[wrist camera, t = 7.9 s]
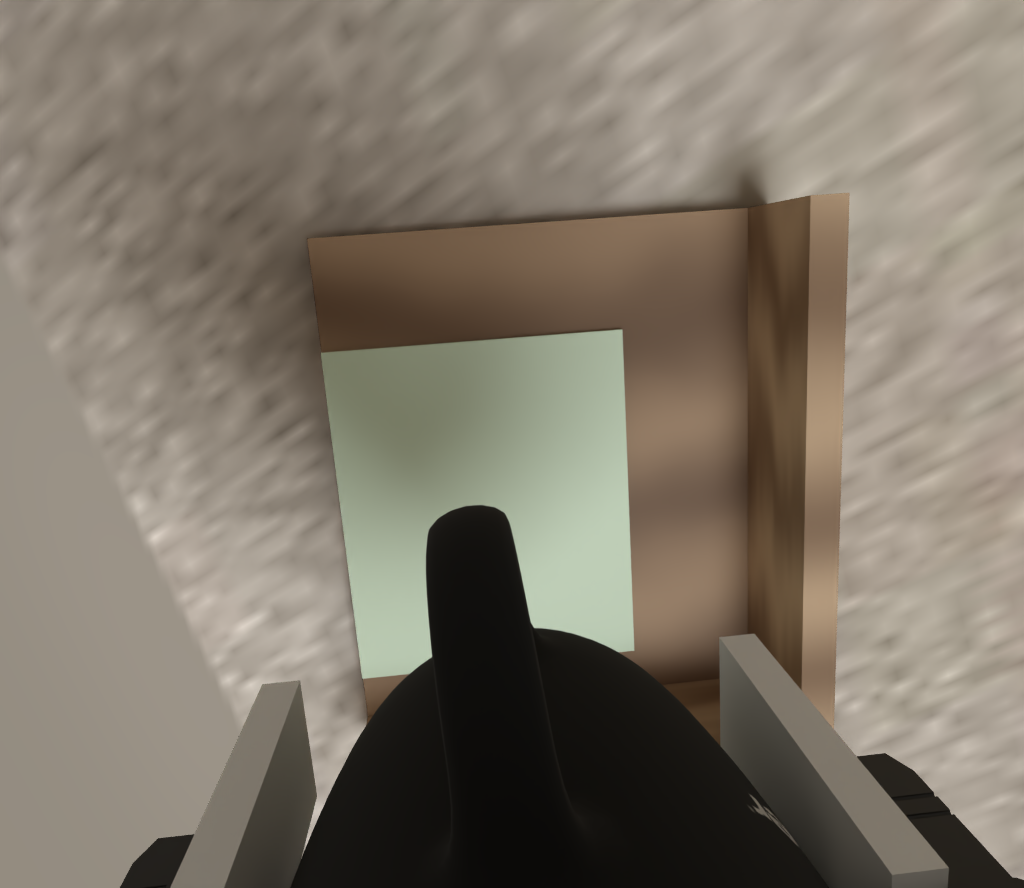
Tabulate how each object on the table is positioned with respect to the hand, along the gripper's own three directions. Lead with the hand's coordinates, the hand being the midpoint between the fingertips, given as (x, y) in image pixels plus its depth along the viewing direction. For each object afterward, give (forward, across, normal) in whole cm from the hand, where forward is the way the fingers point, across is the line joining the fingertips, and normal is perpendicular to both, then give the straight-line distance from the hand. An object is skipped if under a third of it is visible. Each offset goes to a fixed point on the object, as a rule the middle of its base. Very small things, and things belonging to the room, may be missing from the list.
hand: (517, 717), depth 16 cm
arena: (+15, +3, +1) cm, 15 cm away
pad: (+14, 0, 0) cm, 14 cm away
